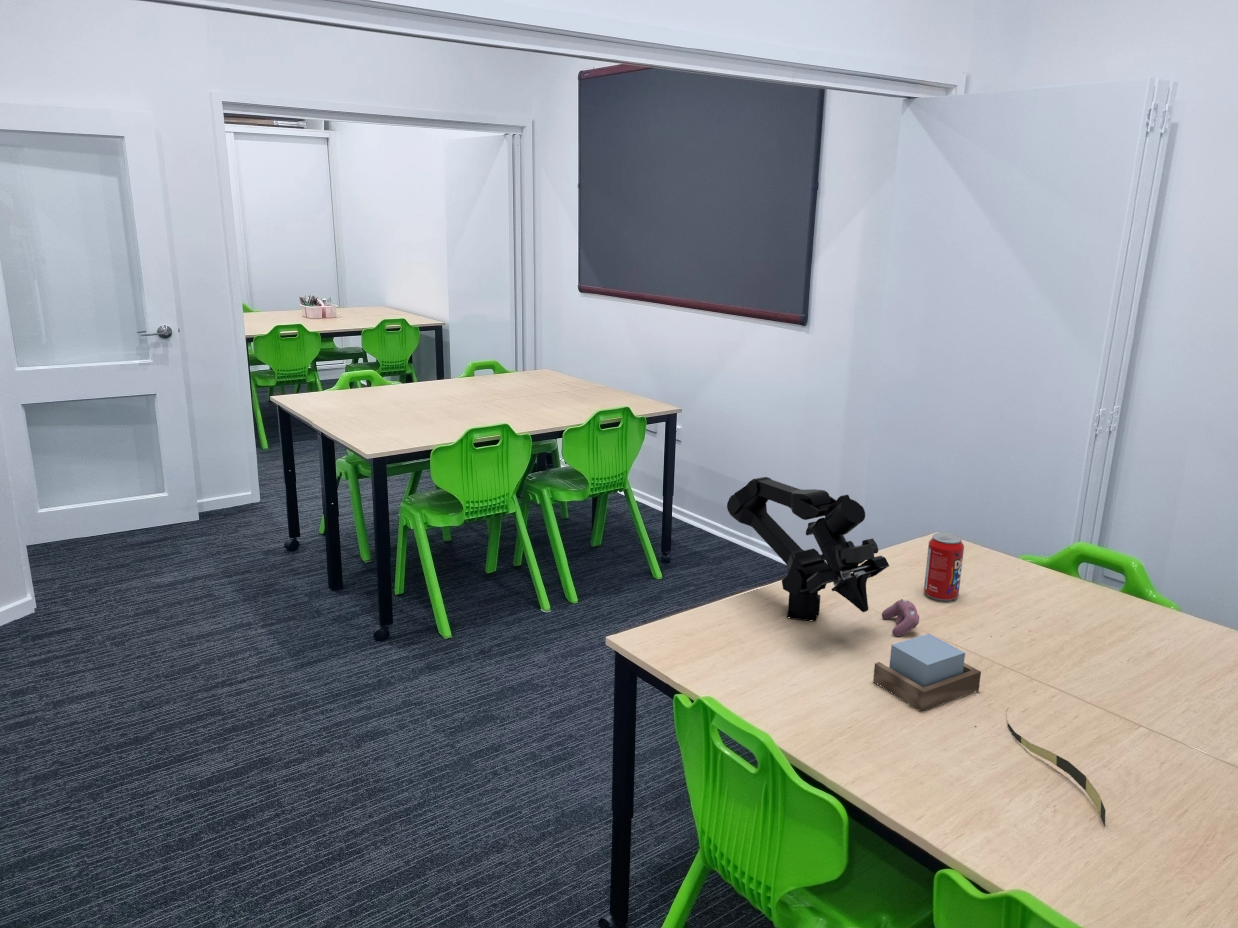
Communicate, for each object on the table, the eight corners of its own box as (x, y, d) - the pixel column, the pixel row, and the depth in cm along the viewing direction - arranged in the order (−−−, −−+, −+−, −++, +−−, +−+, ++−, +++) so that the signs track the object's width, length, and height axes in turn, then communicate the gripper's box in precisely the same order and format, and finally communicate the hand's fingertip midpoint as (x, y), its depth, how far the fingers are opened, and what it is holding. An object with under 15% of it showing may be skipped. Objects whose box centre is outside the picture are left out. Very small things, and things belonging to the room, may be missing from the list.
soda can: (916, 591, 213) (922, 533, 209) (944, 587, 216) (950, 529, 212) (936, 604, 206) (943, 544, 202) (965, 600, 209) (972, 541, 204)
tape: (1068, 830, 133) (1071, 808, 132) (985, 695, 169) (986, 678, 168) (1109, 831, 132) (1113, 809, 131) (1017, 696, 169) (1019, 678, 168)
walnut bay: (873, 681, 173) (874, 663, 172) (929, 662, 180) (930, 644, 179) (921, 711, 163) (923, 692, 161) (978, 690, 170) (981, 671, 169)
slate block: (888, 681, 173) (891, 644, 171) (924, 669, 178) (928, 633, 176) (923, 703, 166) (927, 664, 163) (960, 690, 170) (965, 652, 168)
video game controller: (909, 644, 191) (926, 617, 189) (891, 635, 191) (908, 609, 189) (896, 623, 201) (912, 598, 199) (878, 615, 200) (895, 589, 198)
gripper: (819, 535, 178) (853, 606, 172) (886, 520, 187) (922, 586, 181) (791, 558, 187) (823, 626, 181) (857, 542, 196) (890, 607, 190)
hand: (865, 611), depth 183 cm, fingers closed
